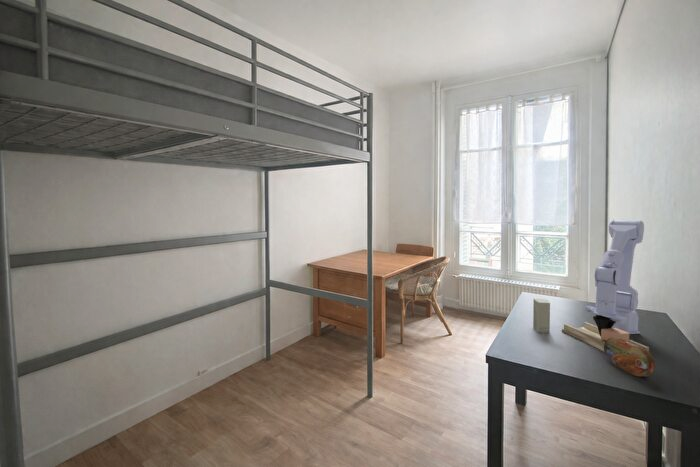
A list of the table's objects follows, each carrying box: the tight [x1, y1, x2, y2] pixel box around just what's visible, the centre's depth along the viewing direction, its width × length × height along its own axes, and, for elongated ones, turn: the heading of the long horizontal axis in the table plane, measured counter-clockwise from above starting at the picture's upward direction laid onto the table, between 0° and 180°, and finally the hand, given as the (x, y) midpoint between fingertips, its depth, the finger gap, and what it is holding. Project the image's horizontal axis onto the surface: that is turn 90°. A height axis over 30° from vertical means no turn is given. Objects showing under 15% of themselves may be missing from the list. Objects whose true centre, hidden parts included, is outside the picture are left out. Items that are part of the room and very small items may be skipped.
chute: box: [561, 321, 652, 355], centre depth 122 cm, size 12×24×3 cm, turn 10°
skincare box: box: [532, 298, 551, 334], centre depth 135 cm, size 6×4×12 cm
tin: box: [603, 338, 656, 378], centre depth 103 cm, size 15×3×8 cm, turn 5°
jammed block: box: [601, 328, 630, 342], centre depth 118 cm, size 6×5×5 cm
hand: (603, 336), depth 122 cm, fingers closed
